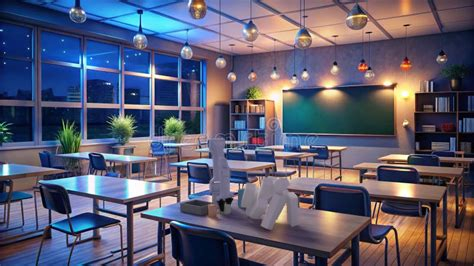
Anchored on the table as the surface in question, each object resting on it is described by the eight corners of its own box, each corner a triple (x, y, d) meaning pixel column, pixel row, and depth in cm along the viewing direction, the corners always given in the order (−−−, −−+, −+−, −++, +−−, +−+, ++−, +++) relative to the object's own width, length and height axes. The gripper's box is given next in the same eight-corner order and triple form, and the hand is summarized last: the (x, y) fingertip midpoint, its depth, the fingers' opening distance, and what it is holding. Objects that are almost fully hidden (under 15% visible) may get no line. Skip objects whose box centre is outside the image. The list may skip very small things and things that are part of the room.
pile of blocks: (225, 232, 203) (226, 180, 185) (251, 201, 225) (255, 153, 208) (283, 259, 188) (291, 207, 170) (305, 224, 210) (314, 174, 193)
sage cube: (224, 211, 227) (224, 203, 226) (230, 212, 223) (230, 204, 223) (219, 213, 223) (219, 204, 222) (225, 214, 220) (225, 206, 219)
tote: (196, 207, 238) (196, 199, 238) (216, 211, 227) (216, 203, 227) (180, 211, 227) (180, 203, 227) (200, 215, 216) (200, 207, 216)
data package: (256, 209, 233) (256, 190, 233) (252, 210, 230) (252, 191, 229) (242, 206, 241) (242, 187, 240) (237, 207, 237) (237, 188, 237)
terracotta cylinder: (212, 215, 218) (212, 203, 218) (218, 216, 215) (218, 204, 215) (206, 216, 214) (206, 204, 214) (212, 218, 211) (212, 206, 211)
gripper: (222, 190, 214) (222, 214, 215) (237, 187, 226) (237, 209, 226) (213, 189, 219) (213, 212, 219) (228, 185, 230) (228, 207, 231)
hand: (225, 210), depth 223 cm, fingers closed on sage cube, 5 cm apart
